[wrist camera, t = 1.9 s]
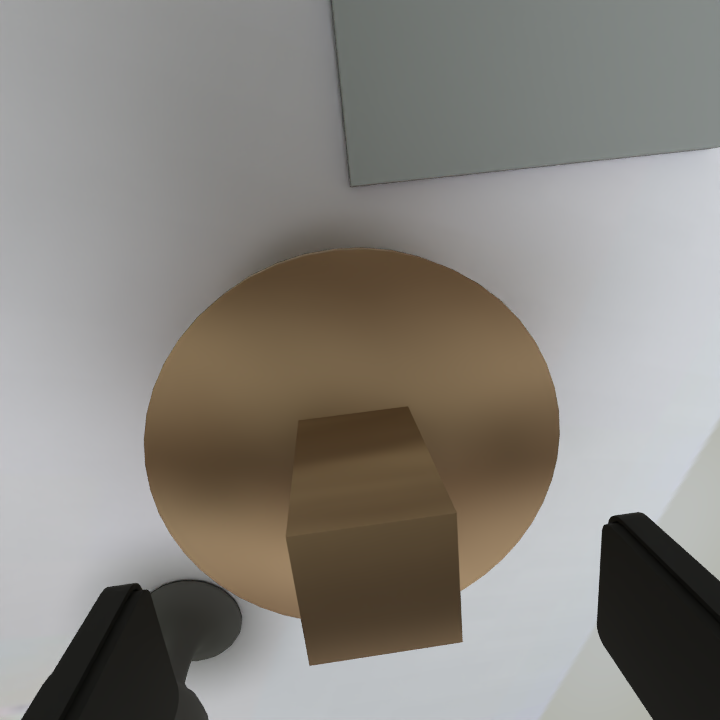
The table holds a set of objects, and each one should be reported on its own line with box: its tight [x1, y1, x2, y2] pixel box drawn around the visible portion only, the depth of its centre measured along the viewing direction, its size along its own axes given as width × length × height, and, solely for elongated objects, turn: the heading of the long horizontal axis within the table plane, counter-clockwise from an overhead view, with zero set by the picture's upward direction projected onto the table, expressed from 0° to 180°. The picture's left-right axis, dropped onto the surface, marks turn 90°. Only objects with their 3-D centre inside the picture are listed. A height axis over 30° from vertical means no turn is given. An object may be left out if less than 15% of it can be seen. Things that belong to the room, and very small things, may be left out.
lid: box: [144, 247, 560, 666], centre depth 12 cm, size 12×12×6 cm
